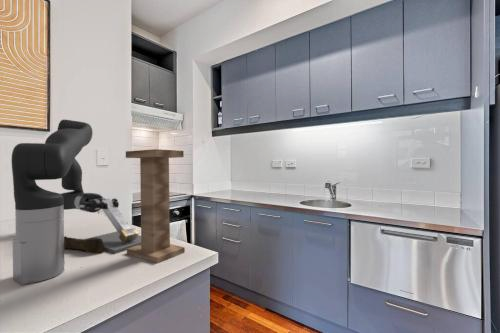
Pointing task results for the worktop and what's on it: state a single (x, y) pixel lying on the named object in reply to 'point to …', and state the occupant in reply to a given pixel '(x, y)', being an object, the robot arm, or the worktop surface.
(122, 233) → the grey rectangular bar
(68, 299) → the worktop surface
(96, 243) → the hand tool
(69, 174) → the robot arm
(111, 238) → the rubber mat
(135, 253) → the walnut stand
